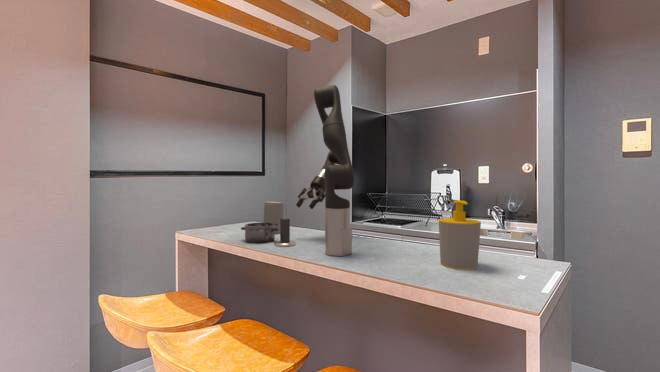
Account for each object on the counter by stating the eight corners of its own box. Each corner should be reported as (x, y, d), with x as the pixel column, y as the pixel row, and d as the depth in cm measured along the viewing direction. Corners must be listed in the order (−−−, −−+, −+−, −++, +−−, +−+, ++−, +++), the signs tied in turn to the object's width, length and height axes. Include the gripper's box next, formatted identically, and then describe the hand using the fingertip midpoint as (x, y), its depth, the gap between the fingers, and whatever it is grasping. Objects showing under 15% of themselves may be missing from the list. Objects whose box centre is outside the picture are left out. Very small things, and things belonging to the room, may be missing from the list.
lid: (300, 244, 146) (300, 218, 145) (283, 248, 139) (283, 221, 138) (286, 241, 152) (286, 216, 151) (269, 244, 145) (269, 218, 145)
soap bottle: (453, 271, 105) (454, 202, 104) (430, 261, 118) (430, 199, 117) (489, 268, 109) (490, 201, 108) (462, 258, 121) (463, 198, 120)
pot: (283, 238, 158) (283, 223, 158) (272, 244, 146) (272, 227, 146) (248, 237, 162) (248, 222, 162) (235, 242, 150) (235, 226, 149)
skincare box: (262, 233, 172) (262, 202, 172) (269, 231, 179) (269, 201, 179) (278, 234, 170) (278, 202, 169) (284, 232, 177) (284, 201, 176)
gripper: (307, 175, 164) (288, 200, 156) (329, 175, 154) (310, 202, 146) (315, 186, 168) (297, 211, 160) (337, 186, 158) (319, 213, 150)
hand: (304, 207), depth 153 cm, fingers open, 8 cm apart
